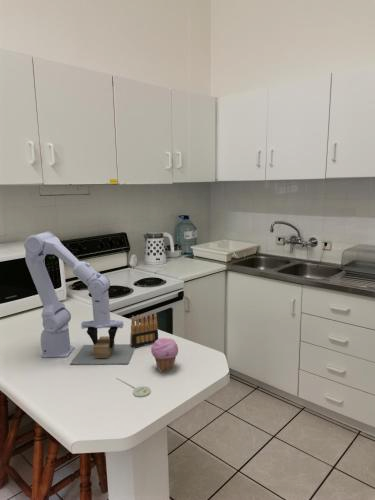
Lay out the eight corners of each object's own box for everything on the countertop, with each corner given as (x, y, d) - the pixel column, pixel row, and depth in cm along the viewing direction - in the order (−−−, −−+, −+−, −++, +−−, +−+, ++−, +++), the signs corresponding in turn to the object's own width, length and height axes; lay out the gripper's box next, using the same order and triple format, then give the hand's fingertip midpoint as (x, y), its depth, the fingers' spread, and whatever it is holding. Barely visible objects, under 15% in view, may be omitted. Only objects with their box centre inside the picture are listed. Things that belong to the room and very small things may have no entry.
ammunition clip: (131, 347, 138) (131, 316, 136) (130, 345, 139) (129, 315, 137) (158, 342, 143) (158, 312, 141) (156, 340, 144) (156, 310, 142)
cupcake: (149, 364, 125) (147, 336, 124) (173, 359, 129) (172, 332, 127) (157, 377, 117) (155, 347, 115) (182, 371, 120) (181, 342, 119)
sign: (123, 374, 119) (154, 390, 109) (123, 376, 120) (154, 392, 109) (109, 380, 116) (140, 397, 106) (109, 383, 116) (140, 400, 106)
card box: (101, 346, 138) (100, 336, 138) (114, 346, 138) (113, 336, 138) (94, 357, 130) (93, 347, 129) (108, 357, 129) (107, 346, 129)
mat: (69, 364, 127) (69, 363, 127) (84, 345, 142) (84, 344, 142) (128, 364, 126) (128, 363, 126) (136, 345, 141) (136, 344, 141)
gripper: (77, 314, 127) (80, 351, 130) (119, 314, 127) (121, 351, 129) (83, 307, 134) (86, 343, 137) (123, 307, 134) (126, 342, 136)
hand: (104, 346), depth 133 cm, fingers closed on card box, 5 cm apart
